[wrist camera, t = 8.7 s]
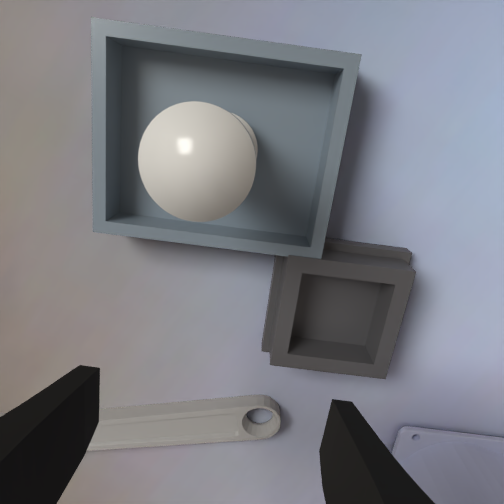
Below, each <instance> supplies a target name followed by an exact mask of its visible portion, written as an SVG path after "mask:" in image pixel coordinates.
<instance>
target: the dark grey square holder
mask: <svg viewBox="0 0 504 504" xmlns="http://www.w3.org/2000/svg"><path fill="white" fill-rule="evenodd" d="M411 255H412V252H410V251H409V250H408V249H407V248H400V247H392V246H385V245H377V244H369V243H361V242H353V241H346V240H338V239H330V238H325V242H324V248H323V253H322V258H321V259H318V258H310V257H302V256H294V255H288V257H286V256H278V255H275V261H274V267H273V274H272V280H271V287H270V293H269V299H268V306H267V312H266V319H265V325H264V332H263V338H262V351H263V352H270V365H274V366H282V367H290V368H299V369H307V370H315V371H323V372H331V373H340V374H348V375H356V376H364V377H372V378H381V379H386V375H387V372H388V368H389V365H390V361H391V358H392V354H393V351H394V347H395V344H396V340H397V337H398V333H399V330H400V326H401V323H402V319H403V316H404V312H405V309H406V305H407V302H408V298H409V295H410V291H411V288H412V284H413V281H414V277H415V274H416V271H415V270H414V269H413V268H412V267H410V266H409V263H410V259H411Z"/></svg>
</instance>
